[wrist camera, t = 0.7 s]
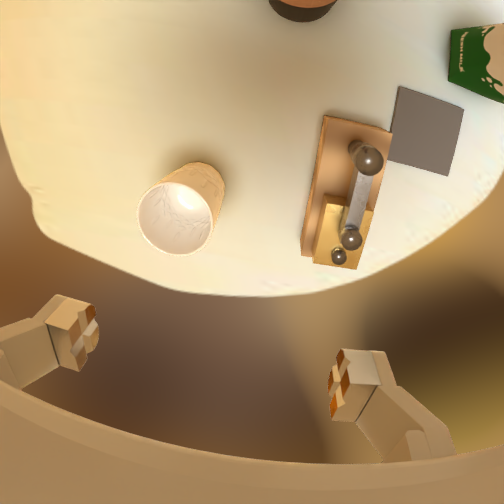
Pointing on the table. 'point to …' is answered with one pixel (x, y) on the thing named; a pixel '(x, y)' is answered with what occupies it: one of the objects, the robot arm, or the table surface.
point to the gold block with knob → (336, 234)
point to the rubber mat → (424, 131)
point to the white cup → (182, 209)
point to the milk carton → (479, 60)
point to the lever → (358, 193)
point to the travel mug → (302, 9)
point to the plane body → (339, 168)
